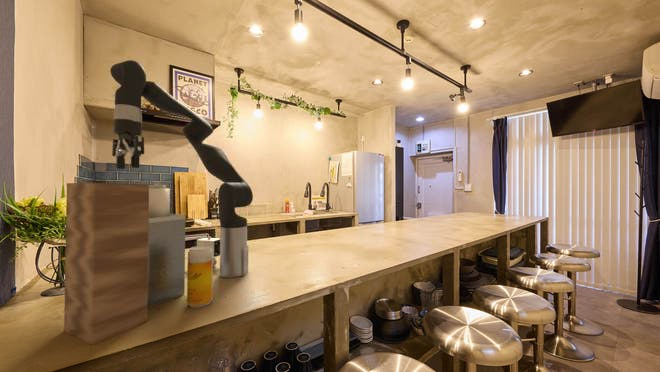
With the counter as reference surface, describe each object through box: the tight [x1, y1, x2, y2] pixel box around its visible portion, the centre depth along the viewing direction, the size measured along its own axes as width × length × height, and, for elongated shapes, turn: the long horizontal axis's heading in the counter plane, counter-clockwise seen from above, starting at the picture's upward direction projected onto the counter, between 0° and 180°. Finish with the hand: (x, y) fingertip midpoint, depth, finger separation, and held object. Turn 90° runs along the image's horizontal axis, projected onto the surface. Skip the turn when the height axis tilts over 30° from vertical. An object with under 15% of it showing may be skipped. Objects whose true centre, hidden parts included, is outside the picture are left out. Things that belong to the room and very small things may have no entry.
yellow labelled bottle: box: [186, 246, 214, 309], centre depth 68 cm, size 6×6×15 cm
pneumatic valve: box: [192, 235, 220, 267], centre depth 101 cm, size 6×12×12 cm, turn 78°
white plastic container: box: [149, 184, 171, 218], centre depth 75 cm, size 18×6×10 cm, turn 65°
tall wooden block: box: [63, 182, 150, 346], centre depth 57 cm, size 12×10×32 cm
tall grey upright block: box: [147, 213, 186, 309], centre depth 72 cm, size 10×10×23 cm
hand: (127, 168), depth 86 cm, fingers open, 8 cm apart
